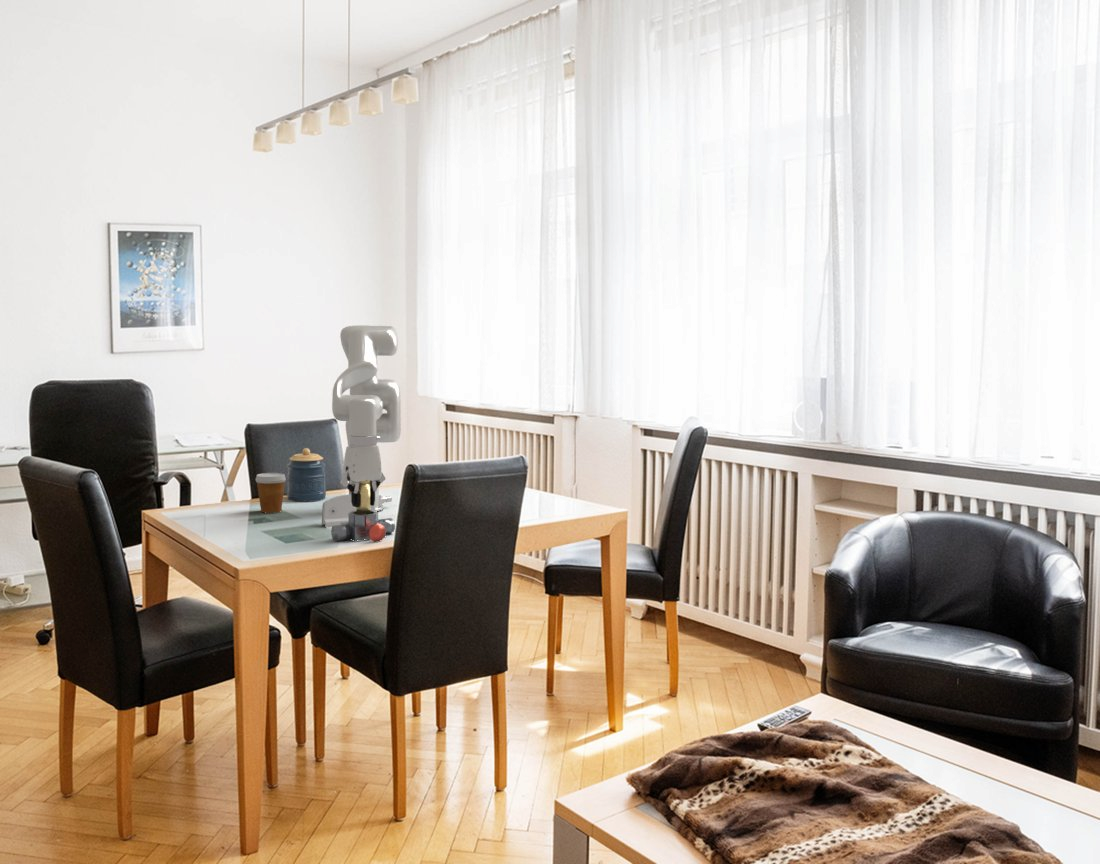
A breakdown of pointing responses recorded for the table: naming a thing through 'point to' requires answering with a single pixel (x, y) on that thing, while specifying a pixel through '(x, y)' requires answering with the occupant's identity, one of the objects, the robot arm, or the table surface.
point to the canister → (306, 477)
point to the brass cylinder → (364, 498)
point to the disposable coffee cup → (270, 491)
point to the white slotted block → (337, 510)
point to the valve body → (363, 527)
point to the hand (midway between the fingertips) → (363, 505)
